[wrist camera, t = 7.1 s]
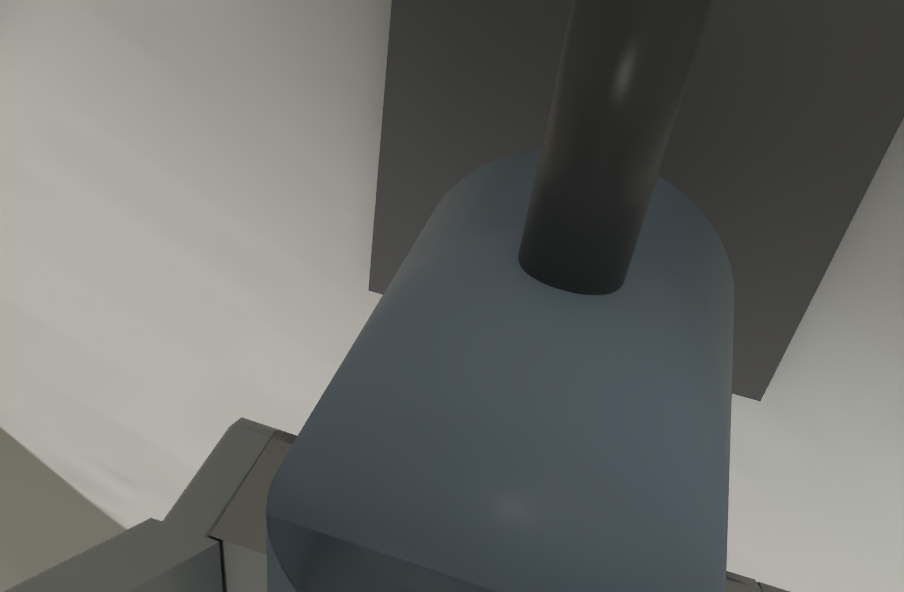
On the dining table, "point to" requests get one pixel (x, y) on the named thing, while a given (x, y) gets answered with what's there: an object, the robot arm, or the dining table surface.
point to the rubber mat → (692, 140)
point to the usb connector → (538, 363)
